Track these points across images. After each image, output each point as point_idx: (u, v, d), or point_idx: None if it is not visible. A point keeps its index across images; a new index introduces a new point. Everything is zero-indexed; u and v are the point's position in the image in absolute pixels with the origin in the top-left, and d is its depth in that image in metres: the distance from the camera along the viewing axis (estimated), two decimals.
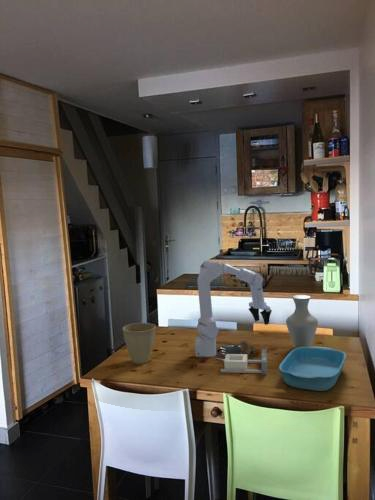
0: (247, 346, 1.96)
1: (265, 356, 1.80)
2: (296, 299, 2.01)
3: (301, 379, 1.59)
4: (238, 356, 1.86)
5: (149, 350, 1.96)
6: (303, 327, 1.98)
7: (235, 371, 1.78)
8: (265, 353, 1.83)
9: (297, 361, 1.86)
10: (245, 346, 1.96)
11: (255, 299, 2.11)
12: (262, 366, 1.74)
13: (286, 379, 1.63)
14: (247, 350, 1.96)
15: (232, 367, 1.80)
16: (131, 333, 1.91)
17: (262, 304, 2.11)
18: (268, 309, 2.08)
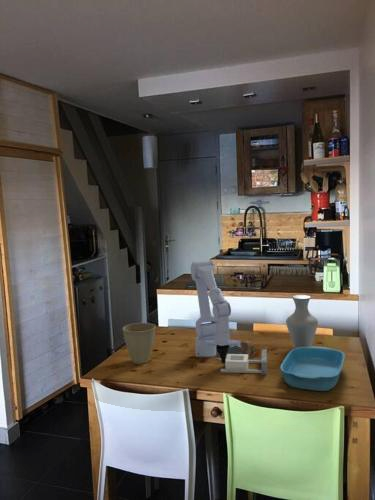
0: (247, 346, 1.96)
1: (265, 356, 1.80)
2: (296, 299, 2.01)
3: (303, 379, 1.59)
4: (239, 356, 1.86)
5: (149, 350, 1.96)
6: (303, 327, 1.98)
7: (235, 371, 1.78)
8: (265, 353, 1.83)
9: (296, 361, 1.86)
10: (245, 346, 1.96)
11: None
12: (262, 366, 1.74)
13: (288, 380, 1.62)
14: (247, 350, 1.96)
15: (233, 367, 1.80)
16: (131, 333, 1.91)
17: (216, 339, 1.84)
18: (205, 342, 1.86)
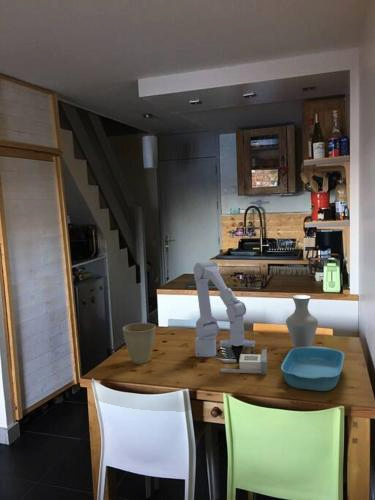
0: (247, 346, 1.96)
1: (265, 356, 1.80)
2: (296, 299, 2.01)
3: (305, 380, 1.59)
4: (253, 356, 1.85)
5: (149, 350, 1.96)
6: (303, 327, 1.98)
7: (235, 371, 1.78)
8: (265, 353, 1.83)
9: (295, 361, 1.86)
10: (245, 346, 1.96)
11: None
12: (262, 366, 1.74)
13: (289, 380, 1.62)
14: (247, 350, 1.96)
15: (247, 367, 1.79)
16: (131, 333, 1.91)
17: None
18: (220, 342, 1.85)
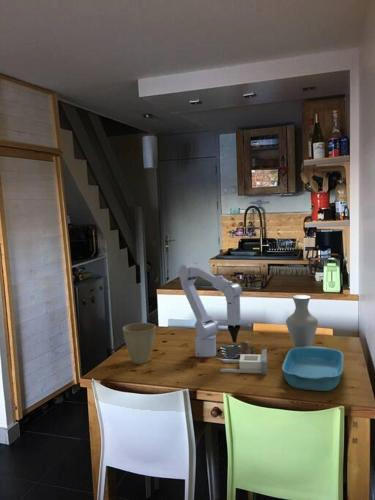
0: (247, 346, 1.96)
1: (265, 356, 1.80)
2: (296, 299, 2.01)
3: (307, 380, 1.58)
4: (253, 356, 1.85)
5: (149, 350, 1.96)
6: (303, 327, 1.98)
7: (235, 371, 1.78)
8: (265, 353, 1.83)
9: (294, 361, 1.85)
10: (245, 346, 1.96)
11: None
12: (262, 366, 1.74)
13: (291, 381, 1.62)
14: (247, 350, 1.96)
15: (247, 367, 1.79)
16: (131, 333, 1.91)
17: None
18: None
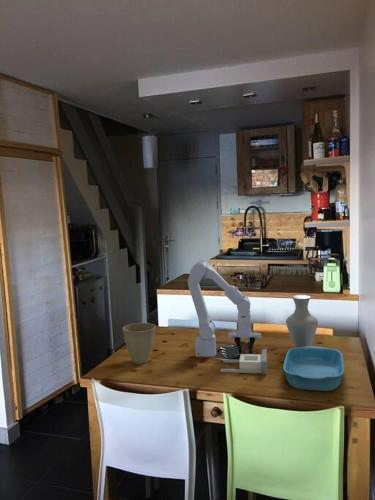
0: (247, 346, 1.96)
1: (265, 356, 1.80)
2: (296, 299, 2.01)
3: (309, 380, 1.58)
4: (253, 356, 1.85)
5: (149, 350, 1.96)
6: (303, 327, 1.98)
7: (235, 371, 1.78)
8: (265, 353, 1.83)
9: (293, 362, 1.85)
10: (245, 346, 1.96)
11: None
12: (262, 366, 1.74)
13: (293, 381, 1.61)
14: (247, 350, 1.96)
15: (247, 367, 1.79)
16: (131, 333, 1.91)
17: (238, 332, 1.98)
18: None
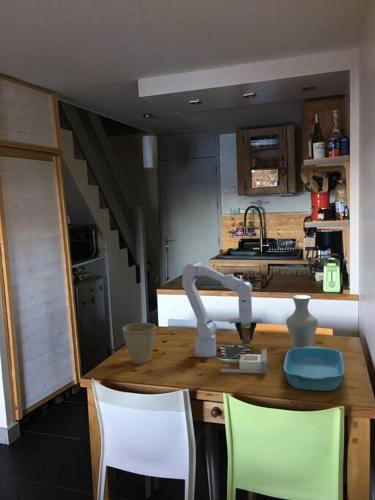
0: (248, 331, 1.92)
1: (265, 356, 1.80)
2: (296, 299, 2.01)
3: (310, 380, 1.58)
4: (253, 356, 1.85)
5: (149, 350, 1.96)
6: (303, 327, 1.98)
7: (235, 371, 1.78)
8: (265, 353, 1.83)
9: (292, 362, 1.85)
10: (246, 331, 1.91)
11: None
12: (262, 366, 1.74)
13: (293, 381, 1.61)
14: (248, 335, 1.92)
15: (247, 367, 1.79)
16: (131, 333, 1.91)
17: (239, 317, 1.93)
18: (229, 320, 1.94)
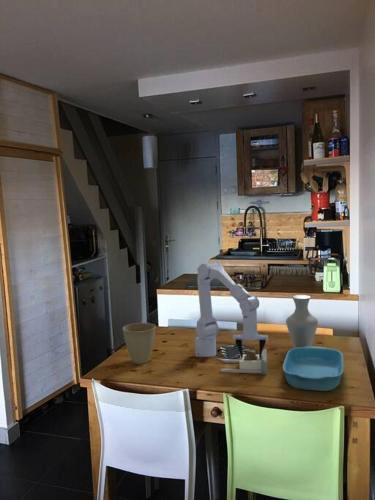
0: (253, 356, 1.81)
1: (265, 356, 1.80)
2: (296, 299, 2.01)
3: (308, 380, 1.58)
4: None
5: (149, 350, 1.96)
6: (303, 327, 1.98)
7: (235, 371, 1.78)
8: (265, 353, 1.83)
9: (293, 362, 1.85)
10: (251, 355, 1.80)
11: None
12: (262, 366, 1.74)
13: (292, 381, 1.61)
14: (253, 360, 1.81)
15: (247, 367, 1.79)
16: (131, 333, 1.91)
17: (243, 333, 1.82)
18: (233, 337, 1.83)
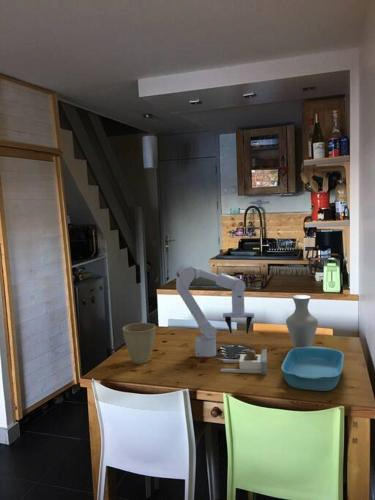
0: (253, 356, 1.81)
1: (265, 356, 1.80)
2: (296, 299, 2.01)
3: (305, 380, 1.58)
4: None
5: (149, 350, 1.96)
6: (303, 327, 1.98)
7: (235, 371, 1.78)
8: (265, 353, 1.83)
9: (295, 361, 1.85)
10: (251, 355, 1.80)
11: None
12: (262, 366, 1.74)
13: (290, 380, 1.62)
14: (253, 360, 1.81)
15: (247, 367, 1.79)
16: (131, 333, 1.91)
17: (232, 312, 2.03)
18: (223, 315, 2.05)
